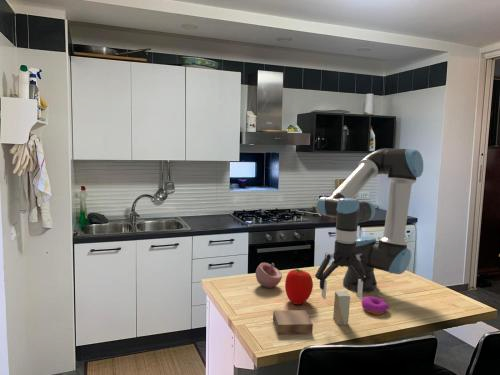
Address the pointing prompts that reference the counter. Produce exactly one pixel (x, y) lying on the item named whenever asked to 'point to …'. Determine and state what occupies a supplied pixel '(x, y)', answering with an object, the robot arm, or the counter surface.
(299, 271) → the tomato
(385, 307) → the donut
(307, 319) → the walnut block
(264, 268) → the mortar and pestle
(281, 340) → the counter surface
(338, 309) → the box
